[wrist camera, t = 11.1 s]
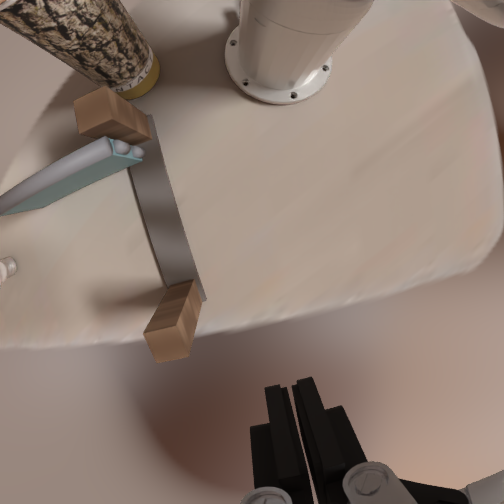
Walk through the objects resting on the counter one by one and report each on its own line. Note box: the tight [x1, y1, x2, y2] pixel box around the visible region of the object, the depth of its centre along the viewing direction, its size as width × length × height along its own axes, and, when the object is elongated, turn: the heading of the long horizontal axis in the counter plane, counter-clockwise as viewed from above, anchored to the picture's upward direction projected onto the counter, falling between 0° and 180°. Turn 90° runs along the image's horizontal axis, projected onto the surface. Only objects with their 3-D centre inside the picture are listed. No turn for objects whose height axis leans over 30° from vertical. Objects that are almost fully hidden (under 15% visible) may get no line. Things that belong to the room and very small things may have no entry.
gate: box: [0, 136, 145, 216], centre depth 27 cm, size 16×2×10 cm, turn 107°
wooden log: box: [0, 0, 160, 99], centre depth 18 cm, size 7×7×25 cm
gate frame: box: [73, 86, 207, 363], centre depth 28 cm, size 23×4×13 cm, turn 15°
